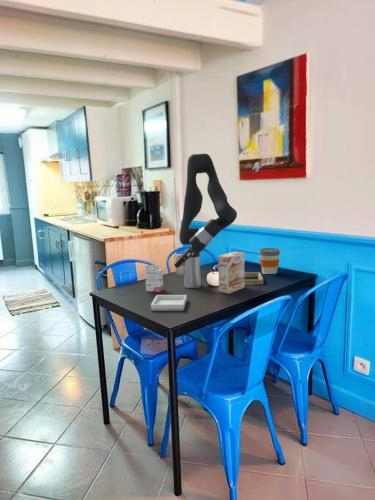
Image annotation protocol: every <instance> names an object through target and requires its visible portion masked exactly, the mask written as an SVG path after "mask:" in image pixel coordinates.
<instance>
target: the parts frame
mask: <svg viewBox="0 0 375 500" xmlns="http://www.w3.org/2000/svg"><path fill="white" fill-rule="evenodd" d="M245 278H257V279H245V286H256V285H258V286H259V285H260V284H261V285H264V278H263V276H262V272H258V271H256V272H255V271H254V272H253V271H252V272H247V271H246V272H245ZM261 285H260V286H261Z"/></svg>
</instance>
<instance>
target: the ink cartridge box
mask: <svg viewBox="0 0 375 500" xmlns="http://www.w3.org/2000/svg"><path fill="white" fill-rule="evenodd" d="M144 268H145V269H144V273H145V274H144V275H145V290H146V292H149V293H150V292H153V293H154V292H155V293H161V292H163V291H164V278H163V277H164V276H163V269H160V267H159V265H157V264H156V265H155V264H145V267H144Z"/></svg>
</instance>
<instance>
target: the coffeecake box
mask: <svg viewBox="0 0 375 500" xmlns="http://www.w3.org/2000/svg"><path fill="white" fill-rule="evenodd" d="M217 257H218V258H217V261H218V267H217V269H218V292H219V293H225V294H229V295H230V294H231V293H234V292H236V291H239V290H241V289H244V288H245V287H246V285H245V280H246V279H245V278H246V277H245V252H241V251H240V252H239V251H234V252H233V251H232V252H229V253H223V254H221V255H220V254H219V255H218V256H217Z"/></svg>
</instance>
